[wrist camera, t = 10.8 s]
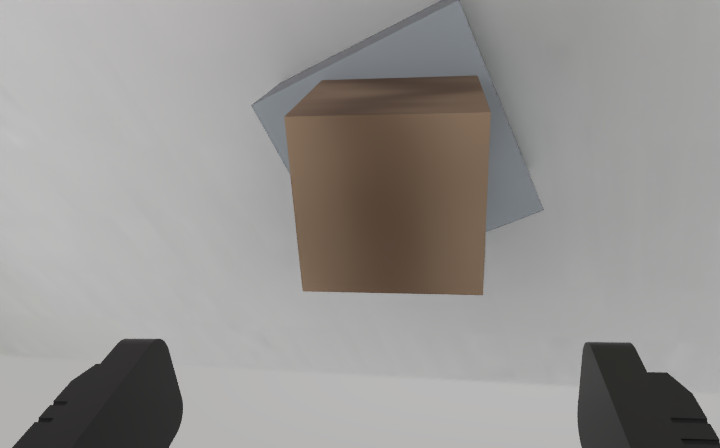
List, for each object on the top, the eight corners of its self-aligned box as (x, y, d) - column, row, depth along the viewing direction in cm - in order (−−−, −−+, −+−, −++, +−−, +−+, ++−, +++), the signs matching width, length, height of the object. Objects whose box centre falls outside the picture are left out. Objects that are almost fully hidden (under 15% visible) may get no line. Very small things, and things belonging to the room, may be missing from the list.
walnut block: (477, 75, 21) (490, 112, 16) (472, 220, 24) (482, 294, 18) (321, 80, 22) (284, 116, 17) (332, 219, 25) (302, 291, 19)
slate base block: (454, -7, 25) (458, -1, 20) (526, 170, 28) (543, 210, 23) (281, 82, 27) (251, 105, 23) (363, 235, 30) (351, 282, 26)
